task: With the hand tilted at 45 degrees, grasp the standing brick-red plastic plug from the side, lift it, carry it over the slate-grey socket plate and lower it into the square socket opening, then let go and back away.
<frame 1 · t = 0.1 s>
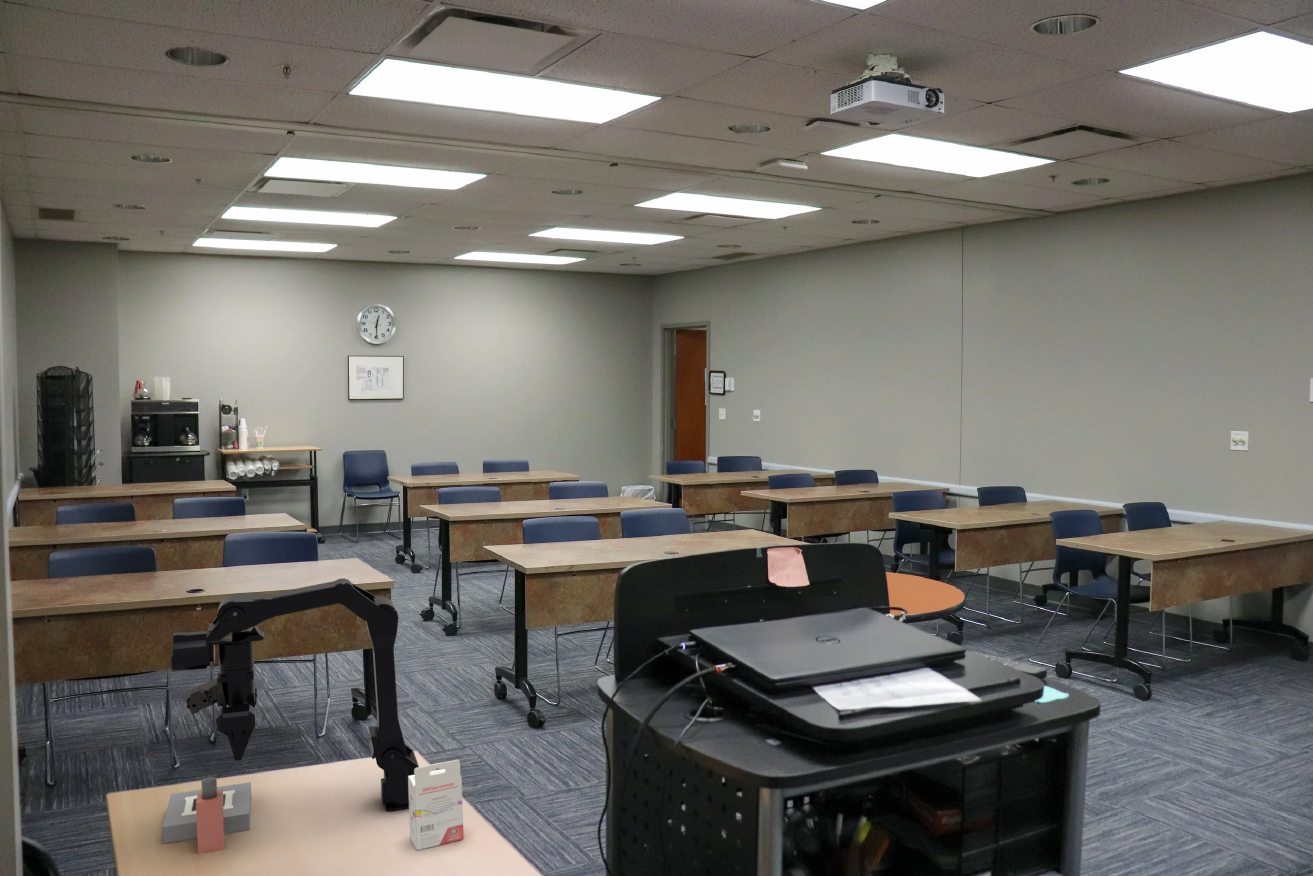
hand: (239, 750, 175), 15 cm above the table, tool pointing down, fingers open, 9 cm apart
socket plate: (209, 819, 180), on the table
ink cartridge box: (436, 840, 172), on the table
plug: (211, 846, 170), on the table
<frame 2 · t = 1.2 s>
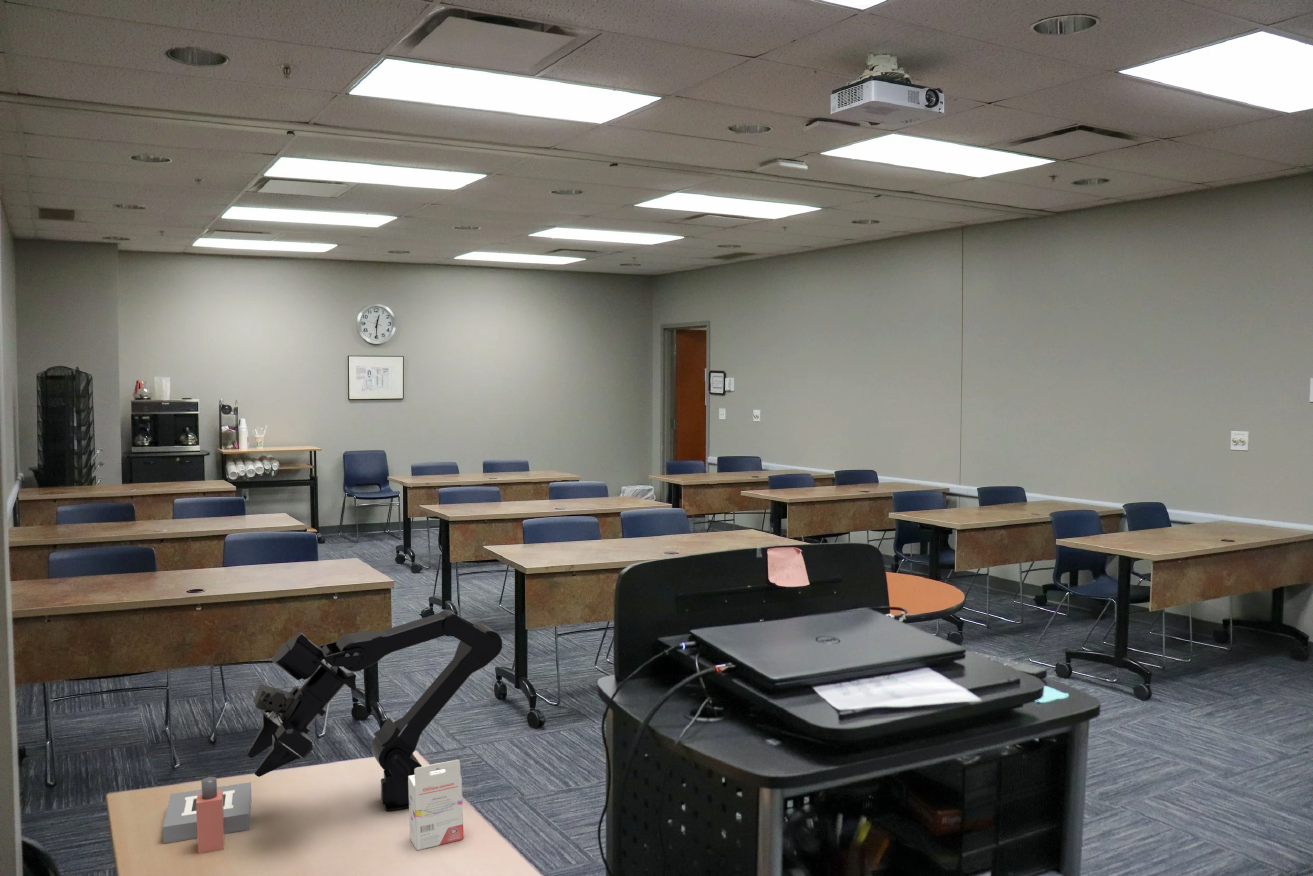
hand: (252, 765, 172), 13 cm above the table, tool tilted 45°, fingers open, 9 cm apart
nothing on the table moved.
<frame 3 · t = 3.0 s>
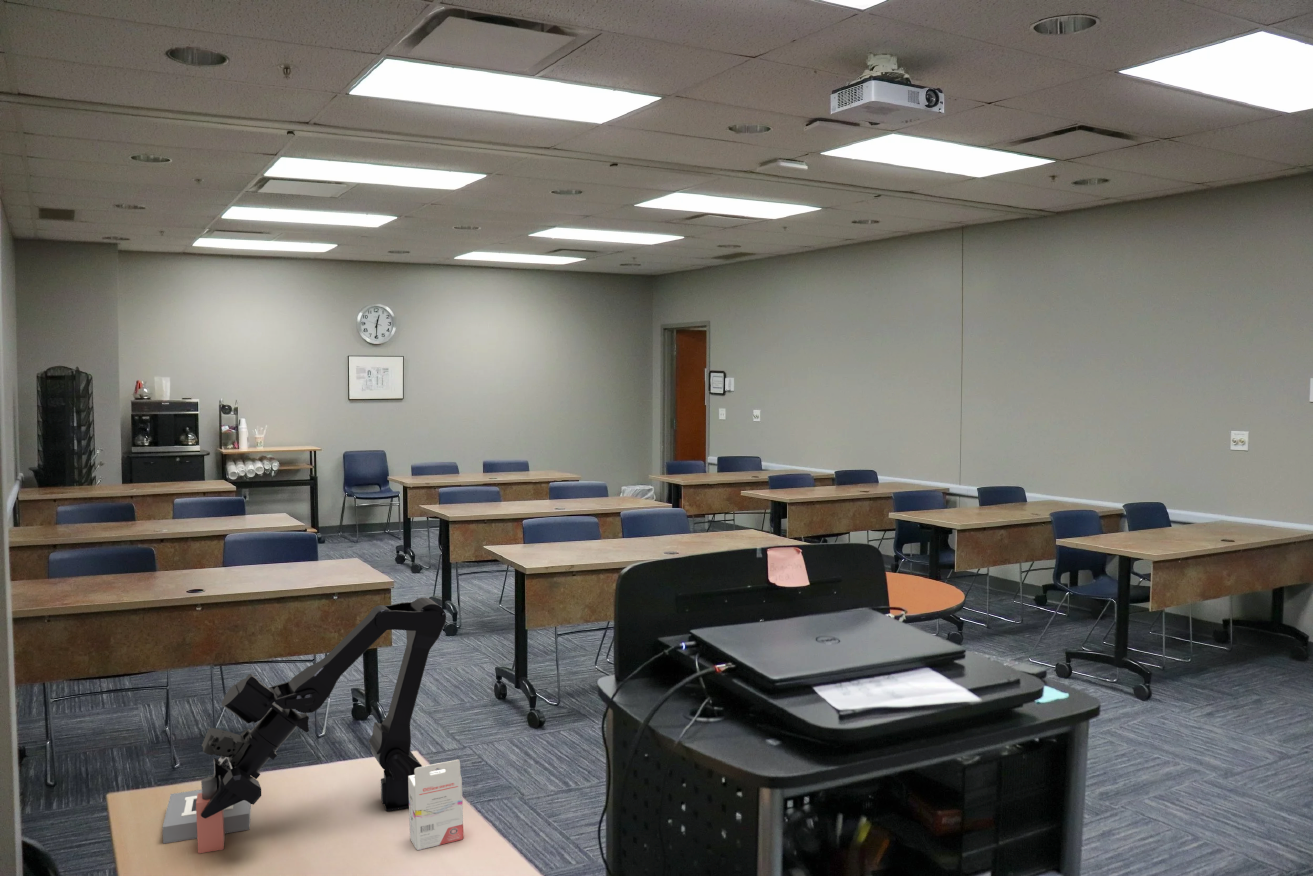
hand: (201, 811, 168), 7 cm above the table, tool tilted 45°, fingers closed on plug, 4 cm apart
plug: (211, 846, 170), on the table, touching gripper
everything else where it was.
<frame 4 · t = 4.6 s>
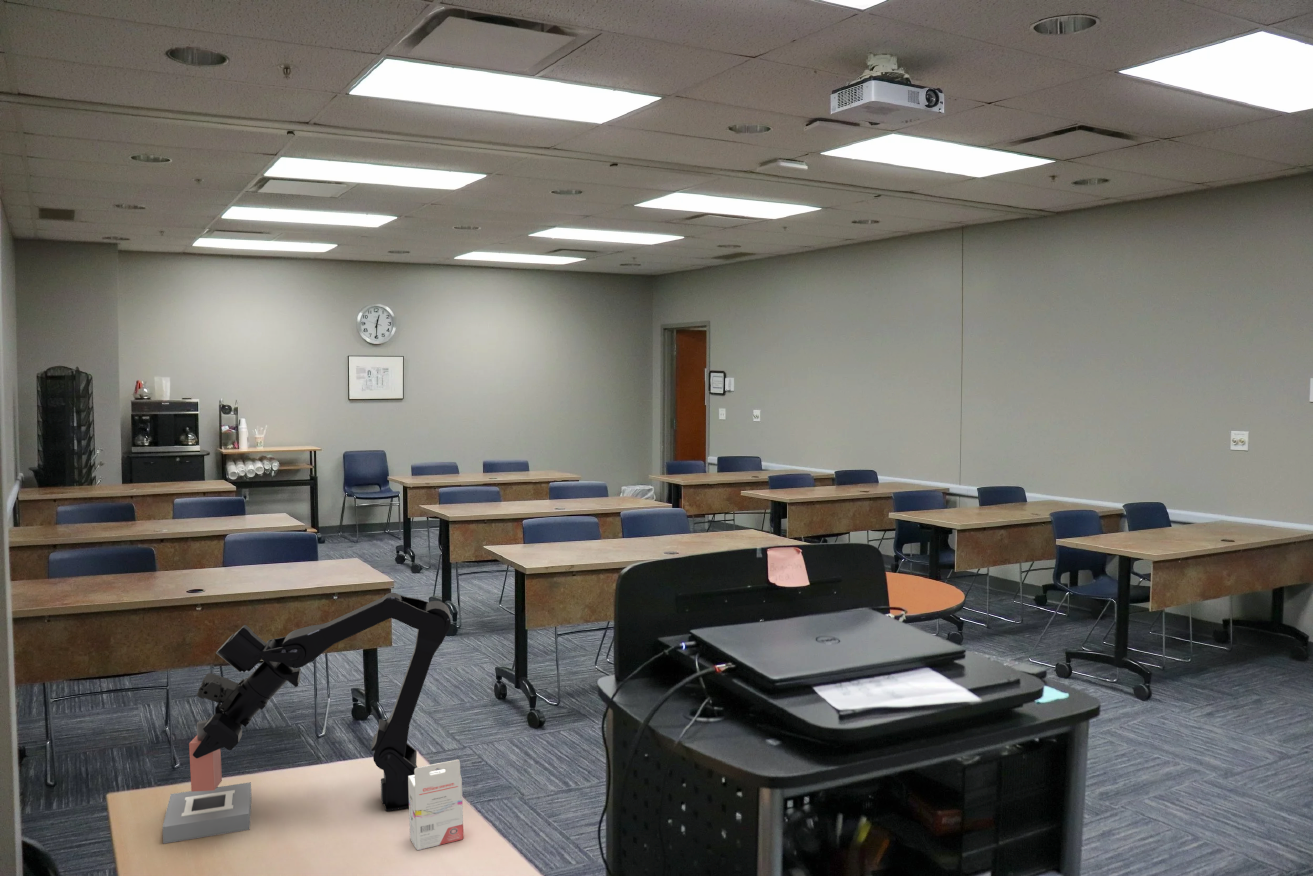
hand: (197, 751, 177), 14 cm above the table, tool tilted 45°, fingers closed on plug, 4 cm apart
plug: (206, 786, 178), point 7 cm above the table, touching gripper
everything else where it was.
when the fingers open (8 cm above the table, at t = 6.2 s): plug drops 2 cm, resting in socket plate.
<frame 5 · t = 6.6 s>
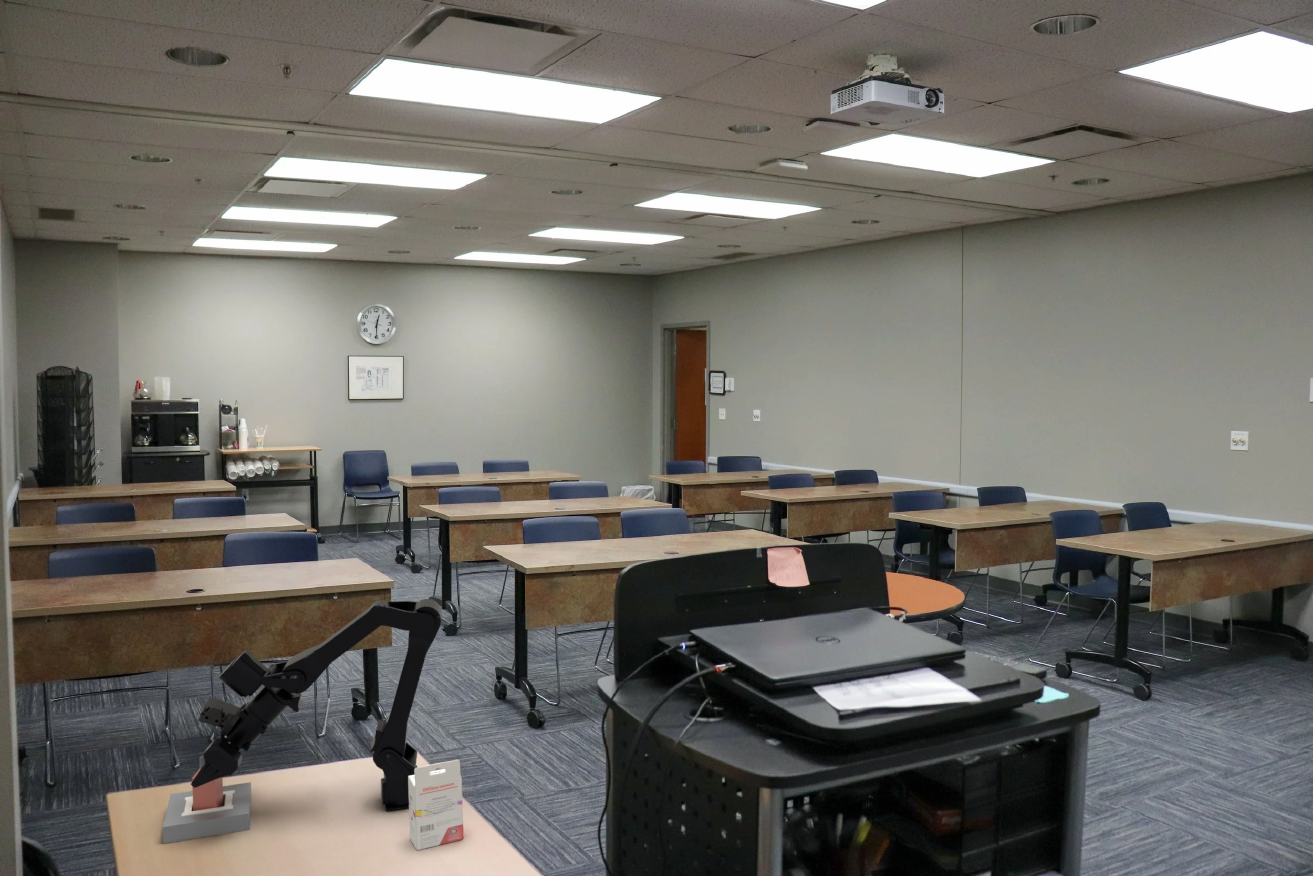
hand: (199, 775, 179), 9 cm above the table, tool tilted 45°, fingers open, 9 cm apart
plug: (209, 819, 179), resting in socket plate
everything else where it was.
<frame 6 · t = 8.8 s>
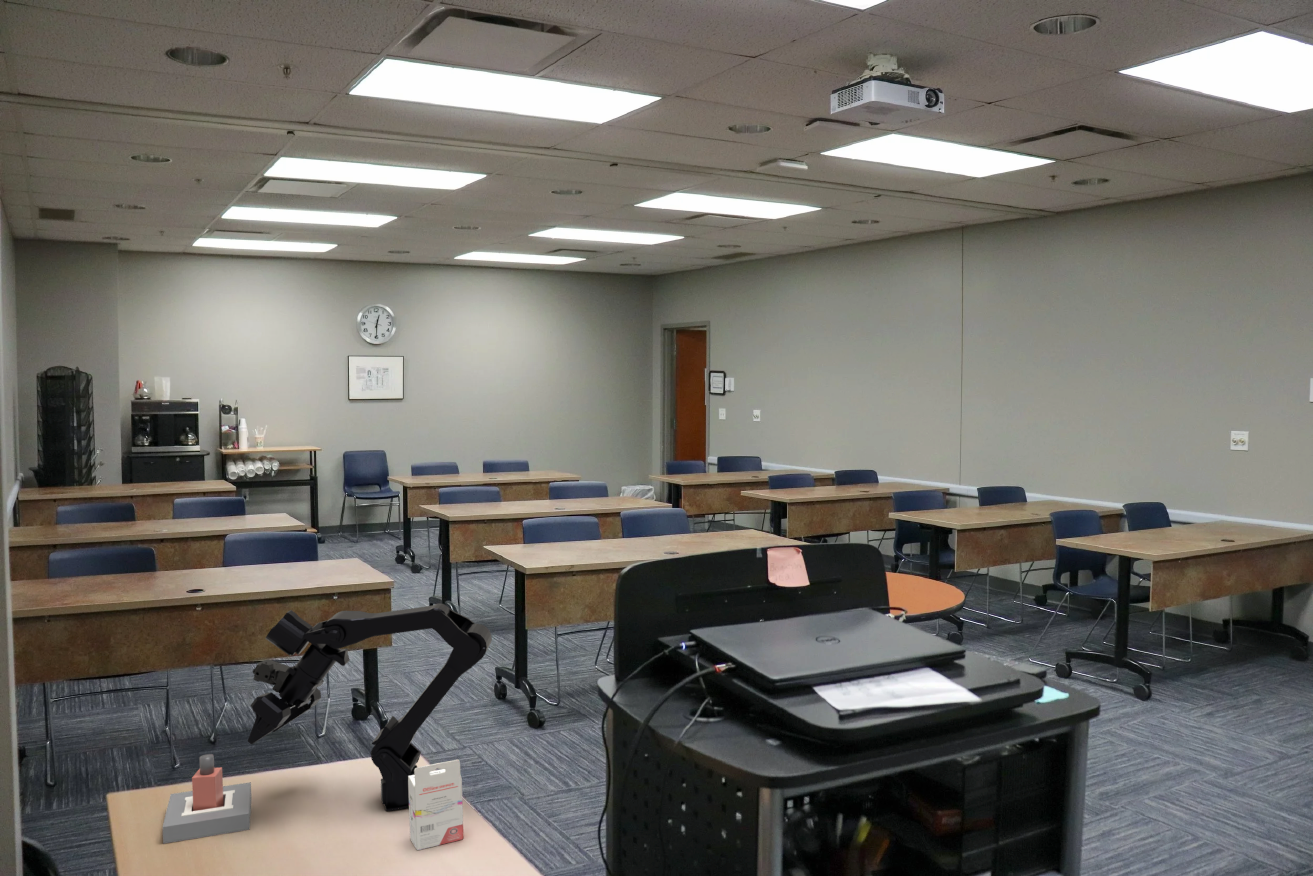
hand: (261, 736, 183), 14 cm above the table, tool tilted 35°, fingers open, 9 cm apart
nothing on the table moved.
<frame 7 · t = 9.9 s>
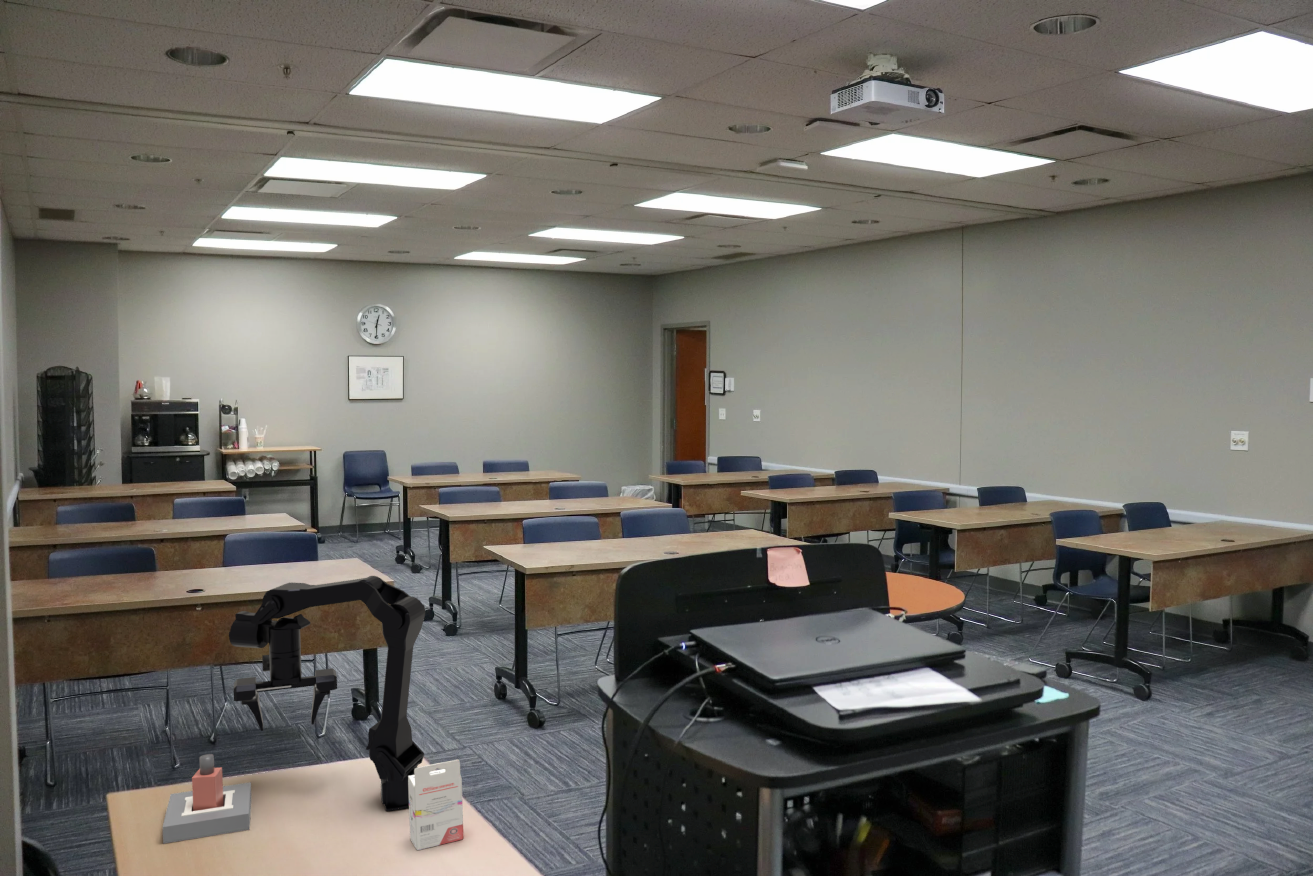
hand: (287, 727, 190), 13 cm above the table, tool pointing down, fingers open, 9 cm apart
nothing on the table moved.
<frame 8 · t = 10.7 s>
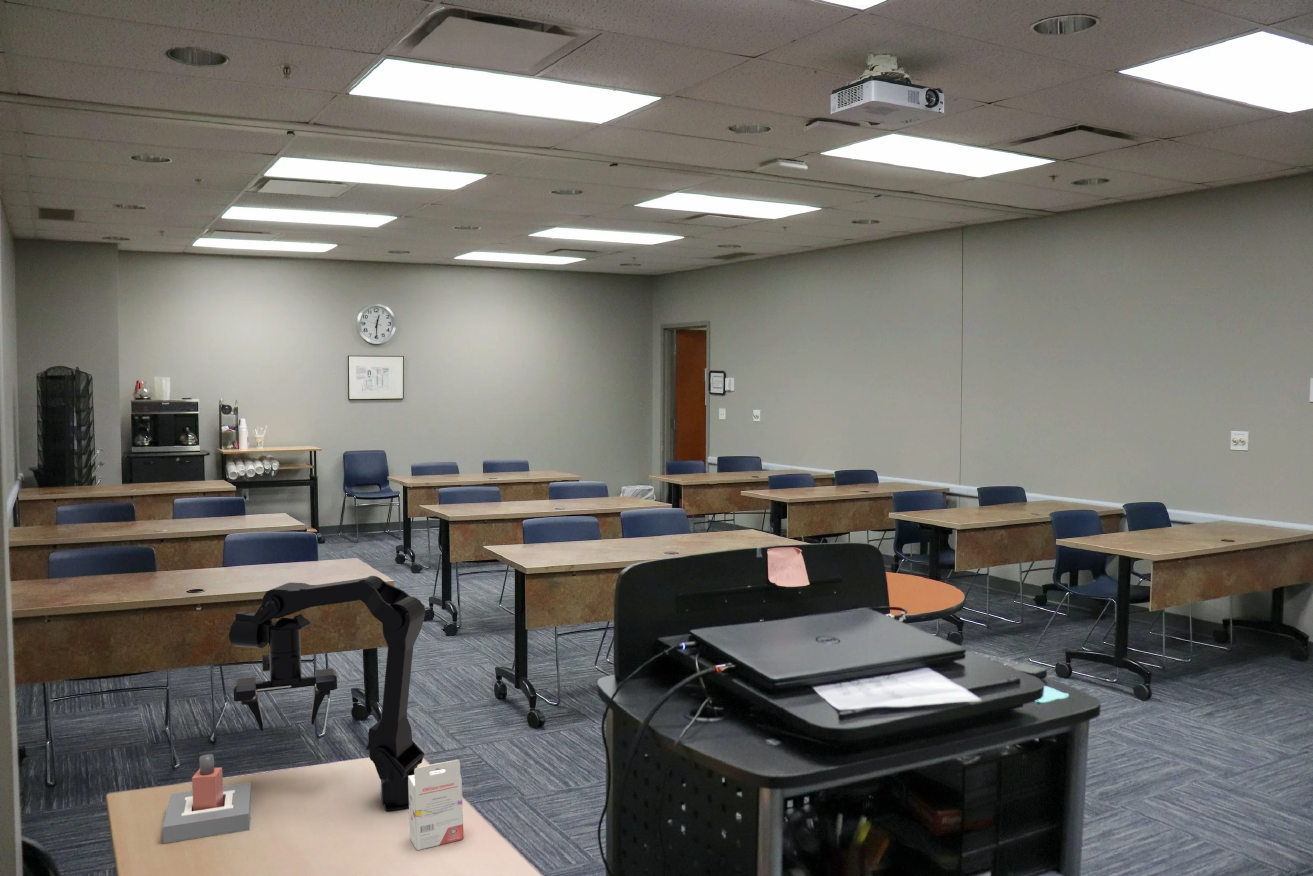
hand: (287, 727, 190), 13 cm above the table, tool pointing down, fingers open, 9 cm apart
nothing on the table moved.
at the end: plug 0.1 cm off-centre on the socket plate, point 0.0 cm above the socket plate's base; plug tilted 0°; the gripper is holding nothing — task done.
